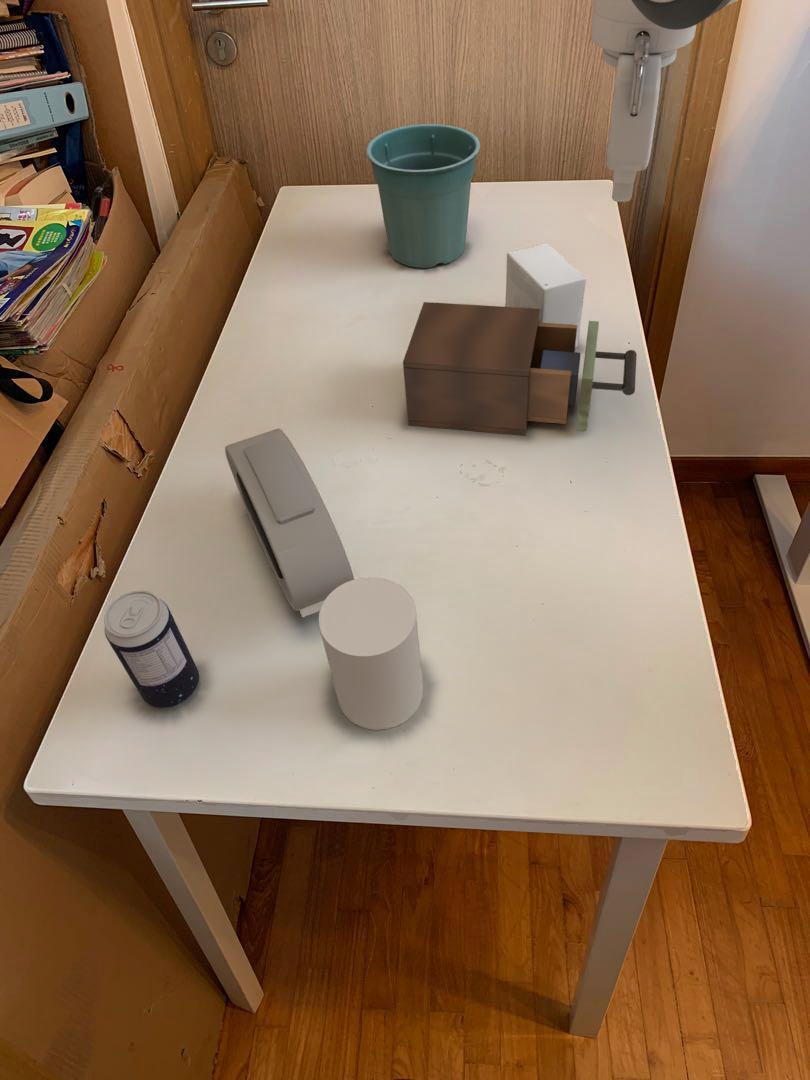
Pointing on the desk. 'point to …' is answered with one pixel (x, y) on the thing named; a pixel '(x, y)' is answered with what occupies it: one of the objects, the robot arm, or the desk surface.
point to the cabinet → (470, 367)
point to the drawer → (569, 374)
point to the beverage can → (151, 648)
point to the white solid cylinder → (373, 651)
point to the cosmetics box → (545, 285)
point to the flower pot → (424, 190)
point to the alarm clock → (289, 519)
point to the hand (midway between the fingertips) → (623, 175)
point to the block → (563, 367)
